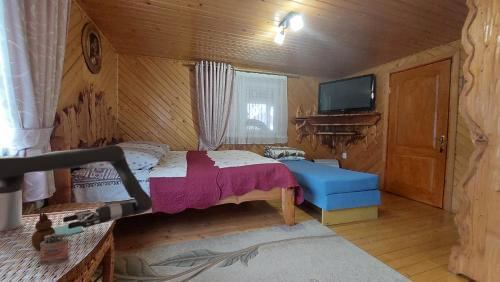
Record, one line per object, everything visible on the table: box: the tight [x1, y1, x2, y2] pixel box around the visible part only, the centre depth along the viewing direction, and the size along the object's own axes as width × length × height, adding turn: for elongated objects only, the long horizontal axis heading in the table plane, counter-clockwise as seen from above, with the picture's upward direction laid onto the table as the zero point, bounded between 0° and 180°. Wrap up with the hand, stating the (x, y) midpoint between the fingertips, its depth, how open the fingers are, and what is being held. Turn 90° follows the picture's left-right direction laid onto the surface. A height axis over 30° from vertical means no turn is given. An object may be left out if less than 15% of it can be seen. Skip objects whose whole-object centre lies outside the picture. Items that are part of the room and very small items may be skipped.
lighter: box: [39, 233, 70, 266], centre depth 80 cm, size 8×3×10 cm, turn 114°
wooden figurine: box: [31, 211, 55, 251], centre depth 88 cm, size 7×6×15 cm
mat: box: [52, 224, 85, 237], centre depth 102 cm, size 12×11×1 cm
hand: (65, 222), depth 93 cm, fingers open, 8 cm apart
